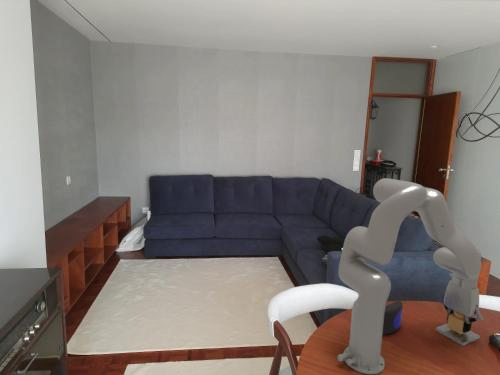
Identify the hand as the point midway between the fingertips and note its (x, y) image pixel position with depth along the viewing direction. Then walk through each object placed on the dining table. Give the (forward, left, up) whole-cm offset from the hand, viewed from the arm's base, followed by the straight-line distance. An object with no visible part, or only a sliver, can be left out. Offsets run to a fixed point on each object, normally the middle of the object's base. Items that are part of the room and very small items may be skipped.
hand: (458, 327), depth 120 cm
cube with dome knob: (0, 0, -1) cm, 1 cm away
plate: (0, 0, -3) cm, 3 cm away
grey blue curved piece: (-21, +14, -3) cm, 26 cm away
